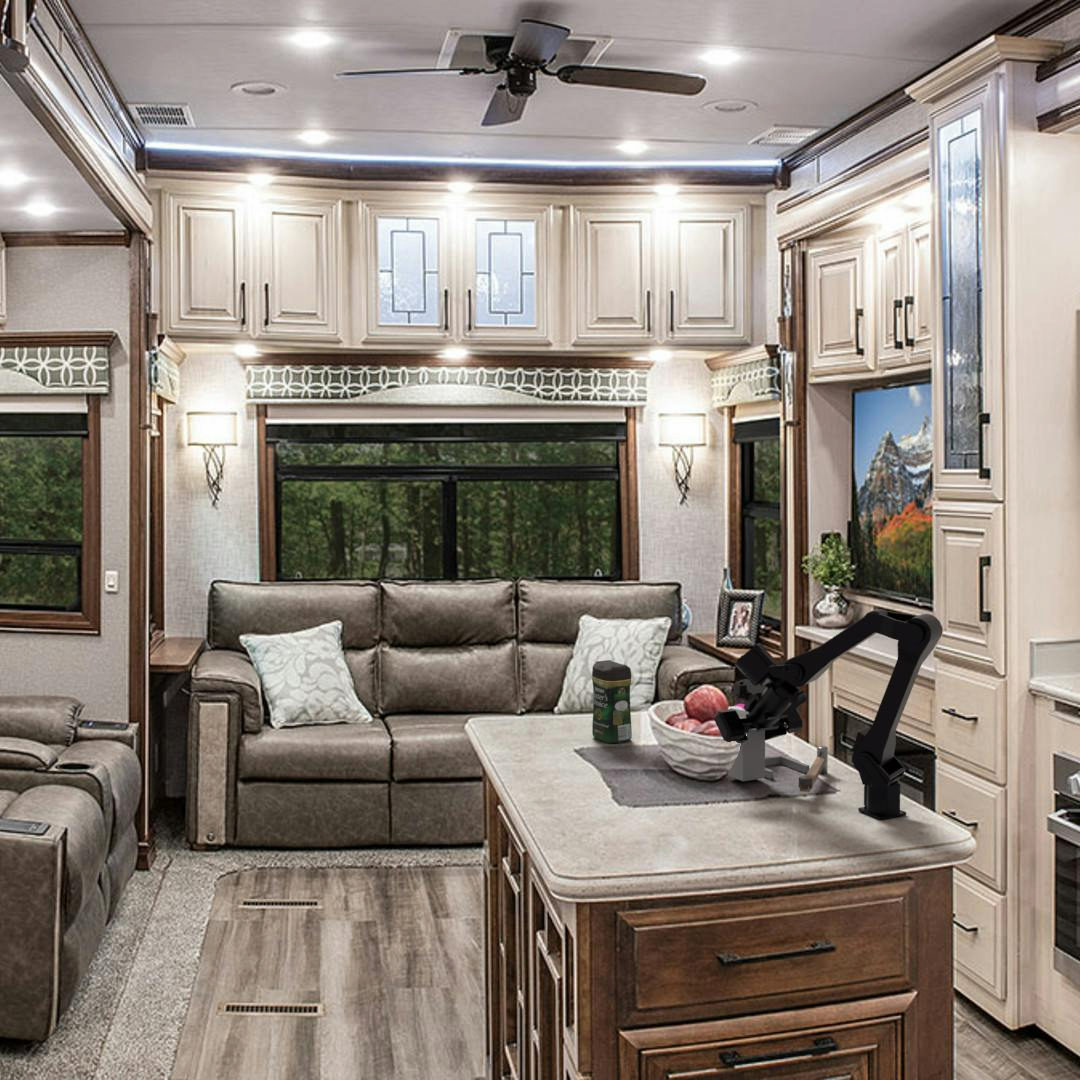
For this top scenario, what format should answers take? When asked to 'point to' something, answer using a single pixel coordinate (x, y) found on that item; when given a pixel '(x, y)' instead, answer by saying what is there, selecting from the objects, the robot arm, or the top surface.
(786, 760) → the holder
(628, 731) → the coffee jar
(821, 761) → the bar
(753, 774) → the plug block
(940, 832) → the top surface
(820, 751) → the hinge post
